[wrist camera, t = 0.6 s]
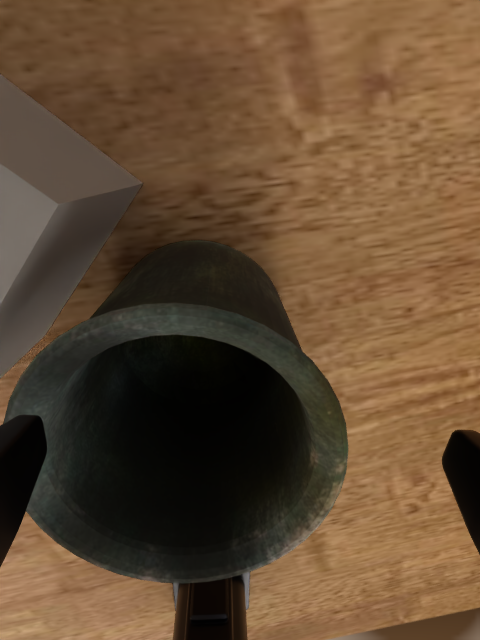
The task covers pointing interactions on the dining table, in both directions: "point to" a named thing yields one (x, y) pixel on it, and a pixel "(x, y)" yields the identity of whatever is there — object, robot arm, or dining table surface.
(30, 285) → the plain grey rectangular block
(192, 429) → the mug
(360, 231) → the dining table surface
